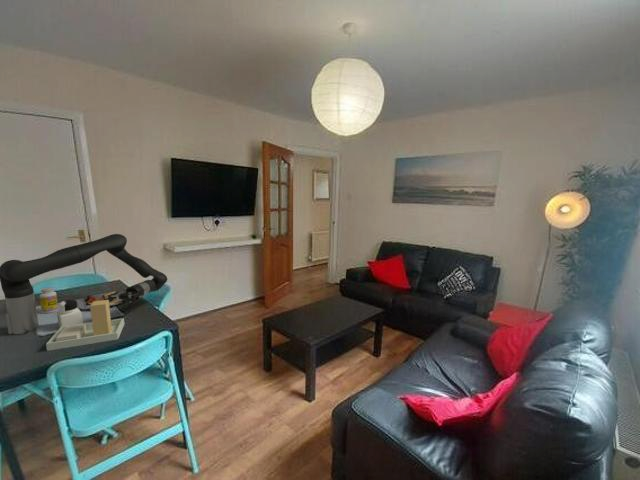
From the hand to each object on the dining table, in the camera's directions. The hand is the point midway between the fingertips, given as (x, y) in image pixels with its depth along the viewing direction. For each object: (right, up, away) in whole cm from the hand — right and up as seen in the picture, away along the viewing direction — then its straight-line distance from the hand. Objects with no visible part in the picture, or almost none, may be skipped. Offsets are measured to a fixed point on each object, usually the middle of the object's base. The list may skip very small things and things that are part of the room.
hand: (113, 302), depth 137 cm
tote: (-6, -14, -8) cm, 17 cm away
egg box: (-11, -14, -10) cm, 20 cm away
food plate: (-29, -7, +32) cm, 43 cm away
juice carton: (-1, -13, -5) cm, 14 cm away
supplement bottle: (-48, -9, +19) cm, 52 cm away
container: (-22, -13, +2) cm, 26 cm away
